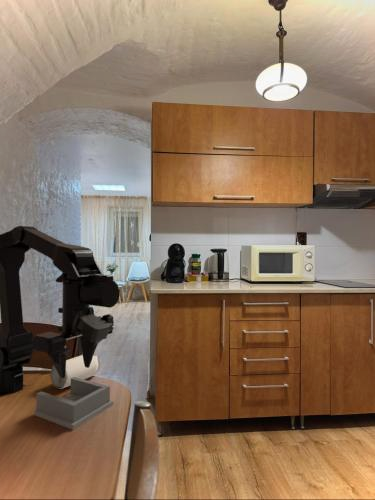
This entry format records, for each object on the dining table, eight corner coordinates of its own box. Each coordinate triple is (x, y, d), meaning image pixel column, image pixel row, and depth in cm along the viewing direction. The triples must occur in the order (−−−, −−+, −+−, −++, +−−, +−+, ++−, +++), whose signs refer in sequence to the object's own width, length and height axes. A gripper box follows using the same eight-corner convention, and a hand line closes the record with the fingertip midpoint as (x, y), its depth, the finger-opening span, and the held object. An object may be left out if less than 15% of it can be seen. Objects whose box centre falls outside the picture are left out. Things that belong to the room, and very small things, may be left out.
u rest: (33, 415, 73) (34, 394, 72) (76, 393, 83) (76, 376, 83) (73, 430, 67) (73, 407, 67) (113, 405, 77) (113, 386, 77)
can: (65, 365, 84) (100, 353, 95) (49, 362, 87) (84, 351, 98) (66, 391, 84) (101, 376, 94) (49, 387, 87) (85, 373, 98)
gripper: (68, 314, 63) (68, 396, 63) (130, 300, 79) (129, 366, 79) (30, 308, 68) (29, 384, 68) (95, 296, 84) (94, 358, 85)
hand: (75, 372), depth 75 cm, fingers open, 7 cm apart
